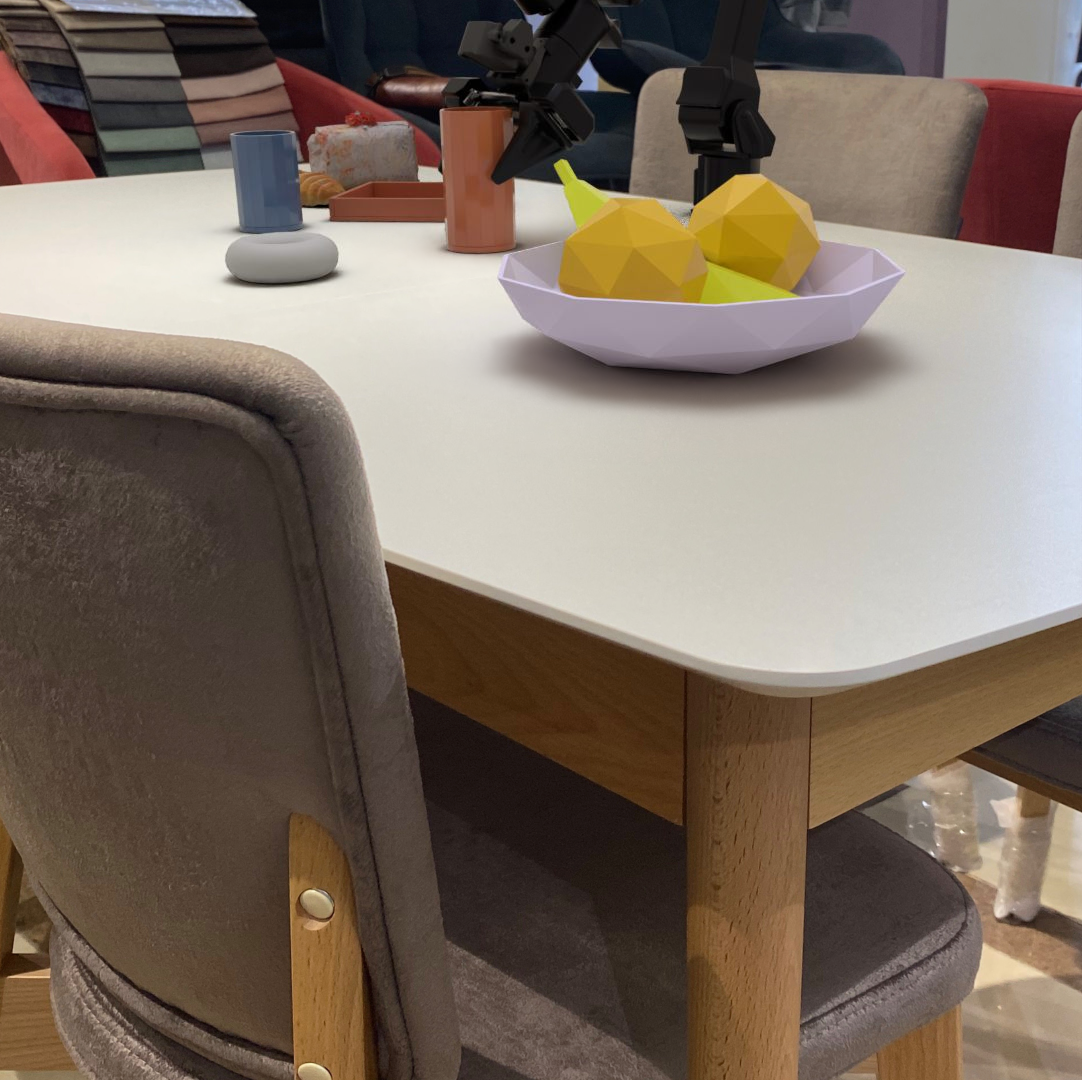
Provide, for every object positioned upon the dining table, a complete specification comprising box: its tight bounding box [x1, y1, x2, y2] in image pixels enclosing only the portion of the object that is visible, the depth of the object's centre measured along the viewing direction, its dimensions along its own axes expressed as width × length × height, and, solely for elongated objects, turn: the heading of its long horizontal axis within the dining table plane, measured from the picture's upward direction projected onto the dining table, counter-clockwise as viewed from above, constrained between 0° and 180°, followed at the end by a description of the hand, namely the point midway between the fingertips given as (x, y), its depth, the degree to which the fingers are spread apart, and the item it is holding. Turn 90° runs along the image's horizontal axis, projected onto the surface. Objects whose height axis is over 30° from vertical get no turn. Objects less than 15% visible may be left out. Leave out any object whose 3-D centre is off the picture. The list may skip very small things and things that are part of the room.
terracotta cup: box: [439, 106, 517, 254], centre depth 126 cm, size 7×7×13 cm
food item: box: [306, 110, 421, 191], centre depth 170 cm, size 14×8×10 cm, turn 110°
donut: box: [224, 231, 340, 284], centre depth 115 cm, size 10×4×10 cm
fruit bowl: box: [497, 158, 907, 376], centre depth 87 cm, size 28×27×11 cm
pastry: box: [299, 169, 345, 207], centre depth 159 cm, size 9×7×4 cm
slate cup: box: [229, 129, 304, 234], centre depth 140 cm, size 7×7×10 cm
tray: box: [328, 181, 445, 223], centre depth 151 cm, size 17×15×2 cm
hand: (467, 177), depth 125 cm, fingers open, 9 cm apart
